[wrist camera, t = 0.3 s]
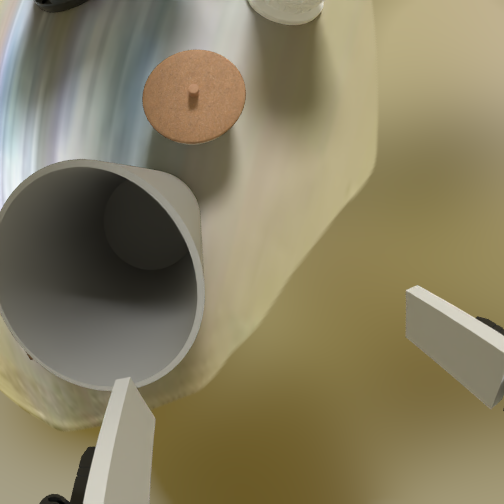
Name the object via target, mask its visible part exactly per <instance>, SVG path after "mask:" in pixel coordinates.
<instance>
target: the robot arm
mask: <svg viewBox="0 0 504 504" xmlns="http://www.w3.org/2000/svg"><path fill="white" fill-rule="evenodd" d="M86 1H87V0H34V2H35V3H36V4H37V5H38V6H39V7H40V8H41V9H42V10H44V11H47V12H59V11H64V10H67V9H70V8H73V7H75V6H78V5H80V4H82V3H84V2H86ZM406 338H408V339H409V340H410V341H411V342H412V343H414V344H415V345H416V346H417V347H419V348H420V349H421V350H422V351H423V352H424V353H426V354H427V355H428V356H429V357H430V358H432V359H433V360H434V361H435V362H436V363H438V364H439V365H440V366H441V367H442V368H444V369H445V370H446V371H447V372H448V373H449V374H451V375H452V376H453V377H454V378H455V379H456V380H458V381H459V382H460V383H461V384H462V385H464V386H465V387H466V388H467V389H468V390H469V391H470V392H471V393H473V394H474V395H475V396H476V397H477V398H478V399H480V400H481V401H482V402H483V403H484V404H485V405H486V406H487V407H489V408H490V409H492V408H493V407H494V406H495V405H496V404H497V403H498V402H500V401H501V400H502V398H503V395H504V329H503V328H502V327H500V326H498V325H496V324H495V323H494V322H492V321H490V320H489V319H485V318H481V317H476V318H474V317H472V316H470V315H469V314H467V313H465V312H464V311H462V310H460V309H459V308H457V307H455V306H453V305H452V304H450V303H448V302H446V301H445V300H443V299H441V298H440V297H437V296H436V295H434V294H432V293H431V292H429V291H427V290H425V289H423V288H422V287H420V286H418V285H417V286H415V287H412V288H410V289H408V290H406ZM503 411H504V410H503ZM154 429H155V417H154V415H153V414H152V412H151V411H150V409H149V408H148V406H147V404H146V403H145V401H144V399H143V398H142V396H141V395H140V393H139V391H138V389H137V388H136V386H135V384H134V383H133V381H132V379H131V377H127V378H122V379H117V380H115V383H114V386H113V389H112V393H111V396H110V399H109V402H108V406H107V409H106V412H105V416H104V419H103V423H102V426H101V430H100V433H99V437H98V441H97V445H96V447H88V448H87V450H86V451H85V452H84V454H83V455H82V457H81V461H80V464H79V469H78V472H77V477H76V479H75V483H74V488H73V492H72V496H71V500H70V502H69V501H67V500H66V499H65V498H64V497H63V496H60V495H58V494H51V495H48V496H46V497H45V498H44V499H43V500H42V501H41V502H40V504H149V501H150V500H149V499H150V480H151V464H152V451H153V450H152V449H153V439H154Z"/></svg>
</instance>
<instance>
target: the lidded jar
mask: <svg viewBox="0 0 504 504" xmlns="http://www.w3.org/2000/svg"><path fill="white" fill-rule="evenodd" d="M245 99H246V90H245V84H244V81H243V78H242V76H241V74H240V72H239V71H238V69H237V68H236V67H235V65H234V64H232V63H231V62H230V61H229V60H228V59H226V58H225V57H223V56H221V55H219V54H217V53H214V52H211V51H206V50H188V51H183V52H179V53H177V54H174V55H172V56H170V57H168V58H167V59H165V60H163V61H162V62H161V63H160V64H159V65H157V67H156V68H155V69H154V70H153V71H152V72H151V74H150V75H149V77H148V79H147V81H146V83H145V86H144V90H143V98H142V100H143V108H144V112H145V115H146V117H147V119H148V121H149V122H150V124H151V125H152V126H153V128H154V129H155V130H156V131H157V132H158V133H160V134H161V135H163V136H164V137H166V138H168V139H170V140H172V141H174V142H177V143H181V144H187V145H197V144H203V143H207V142H210V141H212V140H214V139H216V138H218V137H220V136H221V135H223V134H224V133H225V132H227V131H228V130H229V129H230V128H231V127H232V126H233V125H234V124H235V122H236V121H237V120H238V118H239V116H240V115H241V113H242V110H243V108H244V104H245Z"/></svg>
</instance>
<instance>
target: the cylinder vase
mask: <svg viewBox="0 0 504 504" xmlns="http://www.w3.org/2000/svg"><path fill="white" fill-rule="evenodd" d="M204 302H205V286H204V271H203V255H202V237H201V216H200V209H199V205H198V202H197V200H196V198H195V196H194V194H193V192H192V191H191V189H190V188H189V187H188V186H187V185H186V184H185V183H184V182H183V181H182V180H180V179H179V178H177V177H176V176H174V175H172V174H169V173H167V172H163V171H158V170H152V169H146V168H141V167H135V166H129V165H123V164H116V163H110V162H104V161H97V160H87V159H77V160H67V161H62V162H58V163H55V164H52V165H49V166H47V167H44V168H42V169H40V170H38V171H37V172H35V173H33V174H32V175H31V176H29V177H28V178H27V179H25V180H24V181H23V182H22V183H21V184H20V185H19V186H18V187H17V188H16V189H15V190H14V191H13V192H12V194H11V195H10V196H9V198H8V199H7V201H6V202H5V204H4V206H3V207H2V209H1V211H0V313H1V315H2V318H3V320H4V321H5V323H6V325H7V327H8V329H9V330H10V332H11V333H12V335H13V336H14V338H15V339H16V340H17V342H18V343H19V344H20V346H21V347H22V348H23V349H24V350H25V351H26V352H27V353H28V354H29V355H30V356H31V357H32V358H33V359H34V360H35V361H36V362H37V363H39V364H40V365H41V366H42V367H44V368H45V369H47V370H48V371H50V372H51V373H53V374H54V375H56V376H58V377H60V378H62V379H64V380H66V381H68V382H70V383H73V384H76V385H79V386H82V387H85V388H90V389H95V390H102V391H112V389H113V386H114V383H115V380H117V379H122V378H127V377H131V379H132V381H133V383H134V384H135V386H136V388H138V387H141V386H144V385H147V384H150V383H152V382H154V381H156V380H158V379H160V378H161V377H163V376H164V375H166V374H167V373H168V372H170V371H171V370H172V369H173V368H174V367H176V366H177V365H178V364H179V362H180V361H181V360H182V359H183V358H184V357H185V355H186V354H187V352H188V351H189V349H190V348H191V346H192V344H193V342H194V340H195V338H196V336H197V334H198V331H199V328H200V325H201V321H202V317H203V311H204Z"/></svg>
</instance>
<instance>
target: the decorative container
mask: <svg viewBox="0 0 504 504" xmlns="http://www.w3.org/2000/svg"><path fill="white" fill-rule="evenodd" d="M248 2H249V4H250V6H251V7H252V8H253V9H254V10H255V11H256V12H257V13H258V14H260V15H261V16H263V17H264V18H266V19H268V20H271V21H273V22H276V23H280V24H284V25H301V24H306V23H308V22H310V21H312V20H313V19H315V18H316V17H317V16H318V15H319V13H320V12H321V10H322V8H323V4H324V0H248Z"/></svg>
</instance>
